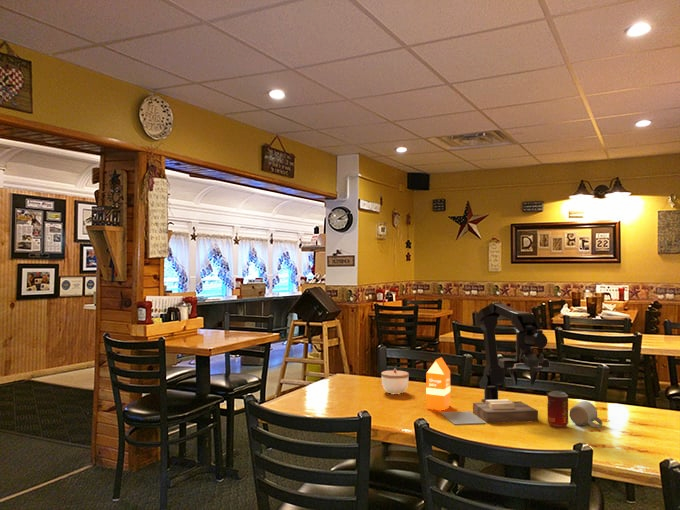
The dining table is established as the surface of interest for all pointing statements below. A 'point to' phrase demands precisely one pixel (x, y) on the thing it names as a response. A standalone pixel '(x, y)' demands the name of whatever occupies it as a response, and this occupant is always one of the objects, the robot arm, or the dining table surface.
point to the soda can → (557, 409)
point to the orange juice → (438, 386)
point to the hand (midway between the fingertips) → (524, 385)
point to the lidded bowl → (395, 381)
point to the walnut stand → (506, 413)
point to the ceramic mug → (585, 414)
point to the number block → (499, 404)
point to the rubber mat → (462, 418)
